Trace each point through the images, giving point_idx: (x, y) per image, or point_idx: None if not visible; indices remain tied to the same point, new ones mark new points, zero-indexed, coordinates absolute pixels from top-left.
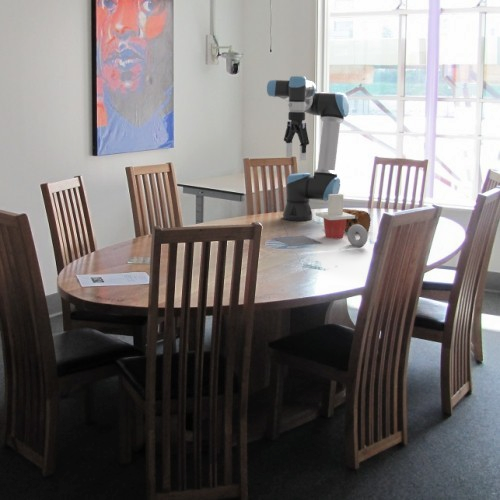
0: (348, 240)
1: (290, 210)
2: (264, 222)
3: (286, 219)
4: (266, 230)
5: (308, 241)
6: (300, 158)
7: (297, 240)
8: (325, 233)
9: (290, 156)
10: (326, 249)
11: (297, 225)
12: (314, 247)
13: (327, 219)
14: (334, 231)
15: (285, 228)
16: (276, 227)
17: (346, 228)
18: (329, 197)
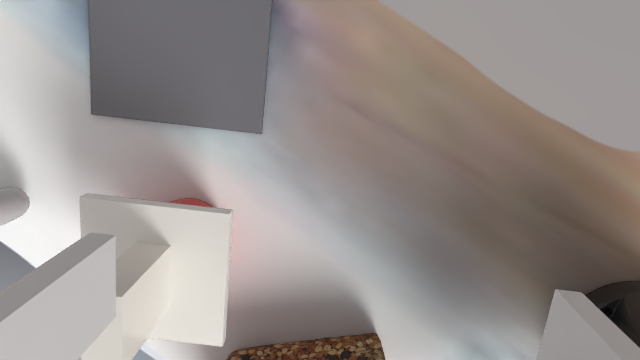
0: (19, 189)
1: (635, 316)
2: (636, 160)
3: (623, 282)
4: (465, 61)
5: (142, 78)
6: (74, 244)
7: (178, 45)
8: (196, 202)
9: (545, 355)
10: (7, 70)
11: (488, 251)
12: (56, 47)
13: None
14: None
15: (458, 166)
16: (500, 143)
17: (278, 350)
18: (116, 286)
